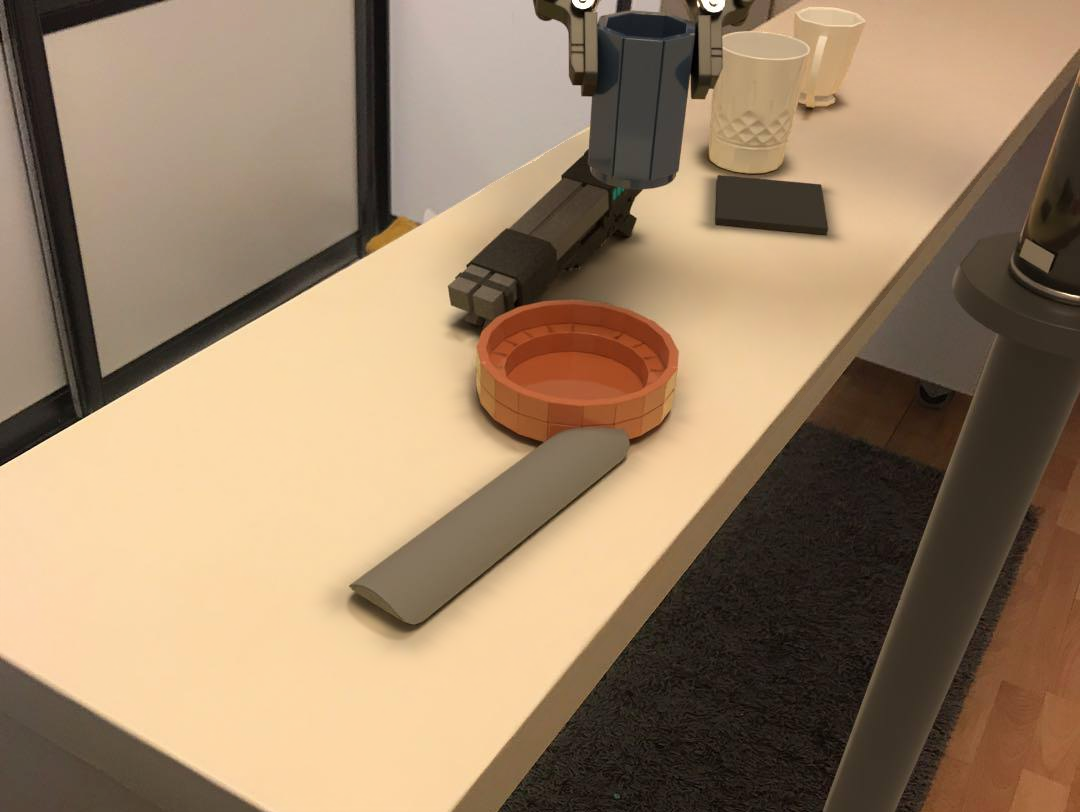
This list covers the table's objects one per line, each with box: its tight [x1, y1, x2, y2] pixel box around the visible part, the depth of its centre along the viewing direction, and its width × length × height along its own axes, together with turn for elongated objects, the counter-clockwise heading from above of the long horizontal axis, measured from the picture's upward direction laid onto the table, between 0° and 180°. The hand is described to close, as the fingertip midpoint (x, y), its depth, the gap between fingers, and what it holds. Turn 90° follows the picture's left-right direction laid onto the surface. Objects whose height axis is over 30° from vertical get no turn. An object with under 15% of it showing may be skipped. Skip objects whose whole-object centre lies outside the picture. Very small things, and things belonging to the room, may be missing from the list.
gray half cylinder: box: [348, 427, 631, 625], centre depth 57 cm, size 4×20×2 cm, turn 142°
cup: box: [793, 6, 867, 109], centre depth 107 cm, size 7×10×8 cm
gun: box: [447, 148, 644, 329], centre depth 78 cm, size 4×20×10 cm, turn 147°
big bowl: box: [475, 299, 680, 443], centre depth 66 cm, size 12×12×4 cm
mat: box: [715, 174, 829, 236], centre depth 90 cm, size 9×9×1 cm
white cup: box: [708, 30, 810, 174], centre depth 94 cm, size 8×8×10 cm
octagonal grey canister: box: [588, 10, 696, 190], centre depth 59 cm, size 5×5×8 cm
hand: (645, 90), depth 57 cm, fingers closed on octagonal grey canister, 5 cm apart
